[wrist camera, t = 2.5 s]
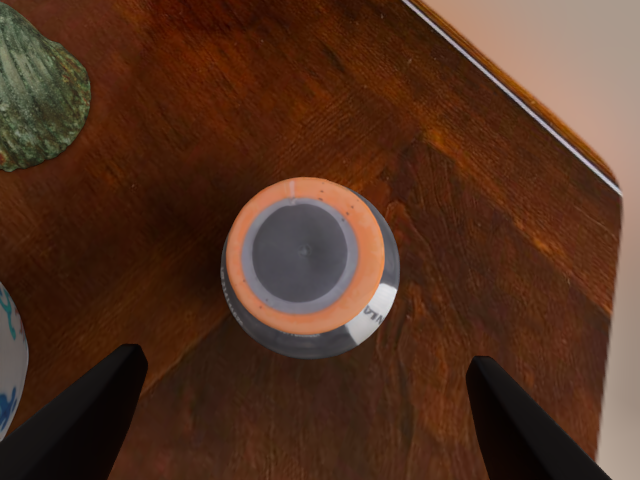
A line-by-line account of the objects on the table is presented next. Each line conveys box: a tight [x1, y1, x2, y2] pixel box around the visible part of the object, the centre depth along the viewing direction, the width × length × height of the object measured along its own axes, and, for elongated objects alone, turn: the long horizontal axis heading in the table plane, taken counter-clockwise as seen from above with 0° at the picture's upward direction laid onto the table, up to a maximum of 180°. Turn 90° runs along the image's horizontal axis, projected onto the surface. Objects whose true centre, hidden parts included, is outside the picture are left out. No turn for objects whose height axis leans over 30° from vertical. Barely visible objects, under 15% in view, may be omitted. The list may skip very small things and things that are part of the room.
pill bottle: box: [221, 177, 400, 359], centre depth 14 cm, size 6×6×11 cm
